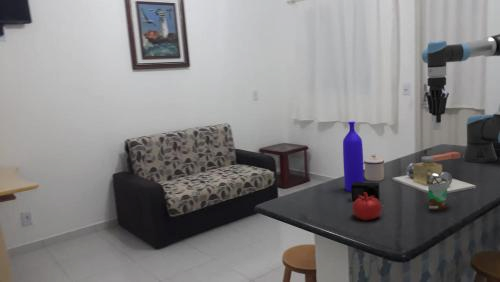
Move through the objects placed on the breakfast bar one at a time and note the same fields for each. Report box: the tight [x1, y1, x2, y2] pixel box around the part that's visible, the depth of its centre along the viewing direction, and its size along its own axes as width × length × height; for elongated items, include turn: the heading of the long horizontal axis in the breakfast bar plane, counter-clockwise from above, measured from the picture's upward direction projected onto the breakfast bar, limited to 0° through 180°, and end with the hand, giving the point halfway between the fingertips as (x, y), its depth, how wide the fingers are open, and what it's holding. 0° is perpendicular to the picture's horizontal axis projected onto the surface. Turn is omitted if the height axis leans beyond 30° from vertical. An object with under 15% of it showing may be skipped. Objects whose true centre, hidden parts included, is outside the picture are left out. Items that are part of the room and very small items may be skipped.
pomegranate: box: [351, 192, 383, 221], centre depth 140 cm, size 10×10×9 cm
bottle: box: [342, 120, 365, 193], centre depth 170 cm, size 8×8×30 cm
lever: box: [420, 151, 461, 163], centre depth 171 cm, size 18×5×2 cm, turn 106°
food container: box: [428, 176, 450, 211], centre depth 143 cm, size 12×6×10 cm, turn 148°
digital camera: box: [351, 181, 381, 202], centre depth 157 cm, size 10×5×7 cm, turn 67°
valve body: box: [405, 161, 453, 186], centre depth 170 cm, size 8×20×9 cm, turn 16°
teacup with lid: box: [363, 154, 385, 182], centre depth 186 cm, size 12×9×12 cm
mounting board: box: [392, 174, 477, 194], centre depth 171 cm, size 20×27×1 cm
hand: (436, 129), depth 178 cm, fingers closed
